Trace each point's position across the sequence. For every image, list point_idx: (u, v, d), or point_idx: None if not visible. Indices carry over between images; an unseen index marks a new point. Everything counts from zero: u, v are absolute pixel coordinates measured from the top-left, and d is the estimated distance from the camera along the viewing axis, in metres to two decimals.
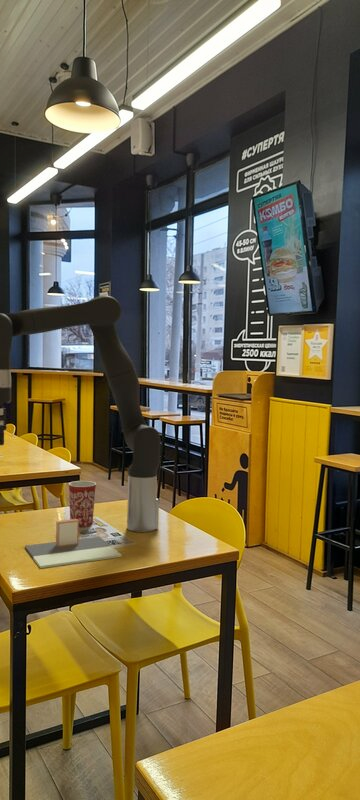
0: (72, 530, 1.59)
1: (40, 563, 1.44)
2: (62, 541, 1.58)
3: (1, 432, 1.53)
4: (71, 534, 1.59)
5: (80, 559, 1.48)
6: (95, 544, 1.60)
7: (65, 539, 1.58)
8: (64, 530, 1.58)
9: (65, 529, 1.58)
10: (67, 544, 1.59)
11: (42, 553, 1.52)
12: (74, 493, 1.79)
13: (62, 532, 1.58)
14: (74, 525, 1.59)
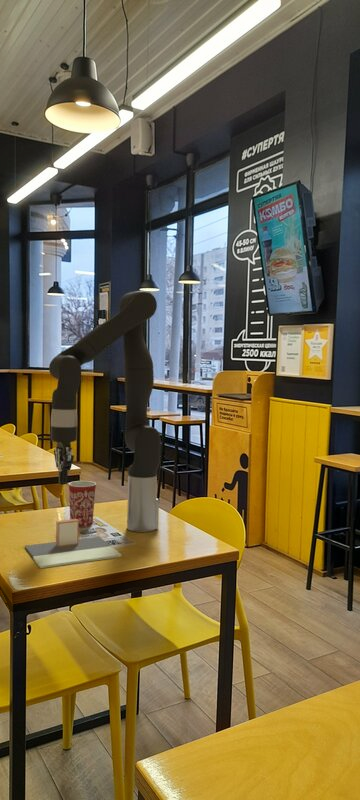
0: (72, 530, 1.59)
1: (40, 563, 1.44)
2: (62, 541, 1.58)
3: (65, 472, 1.62)
4: (71, 534, 1.59)
5: (80, 559, 1.48)
6: (95, 544, 1.60)
7: (65, 539, 1.58)
8: (64, 530, 1.58)
9: (65, 529, 1.58)
10: (67, 544, 1.59)
11: (42, 553, 1.52)
12: (74, 493, 1.79)
13: (62, 532, 1.58)
14: (74, 525, 1.59)
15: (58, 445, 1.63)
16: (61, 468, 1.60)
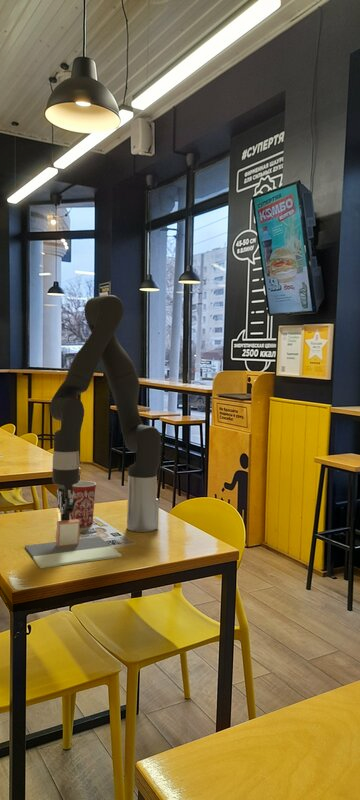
0: (73, 531, 1.59)
1: (40, 563, 1.44)
2: (62, 541, 1.58)
3: (67, 514, 1.59)
4: (71, 535, 1.59)
5: (80, 559, 1.48)
6: (95, 544, 1.60)
7: (65, 539, 1.58)
8: (65, 531, 1.57)
9: (66, 530, 1.57)
10: (67, 544, 1.59)
11: (42, 553, 1.52)
12: (74, 493, 1.79)
13: (63, 533, 1.57)
14: (75, 526, 1.58)
15: (60, 487, 1.61)
16: (63, 511, 1.57)
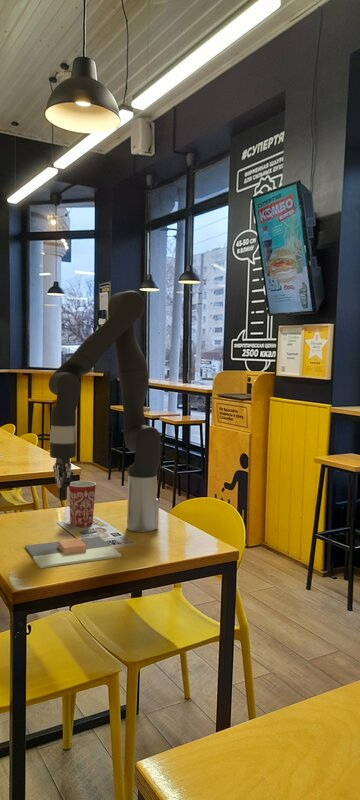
0: None
1: (40, 563, 1.44)
2: None
3: (65, 488, 1.62)
4: None
5: (80, 559, 1.48)
6: (95, 544, 1.60)
7: None
8: None
9: None
10: None
11: (42, 553, 1.52)
12: (74, 493, 1.79)
13: None
14: None
15: (57, 461, 1.64)
16: (60, 484, 1.60)
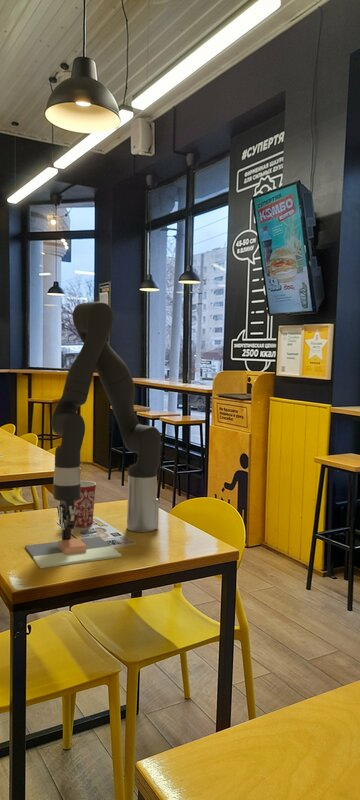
0: None
1: (40, 563, 1.44)
2: None
3: (68, 530, 1.58)
4: None
5: (80, 559, 1.48)
6: (95, 544, 1.60)
7: None
8: None
9: None
10: None
11: (42, 553, 1.52)
12: None
13: None
14: None
15: (61, 502, 1.60)
16: (64, 527, 1.56)
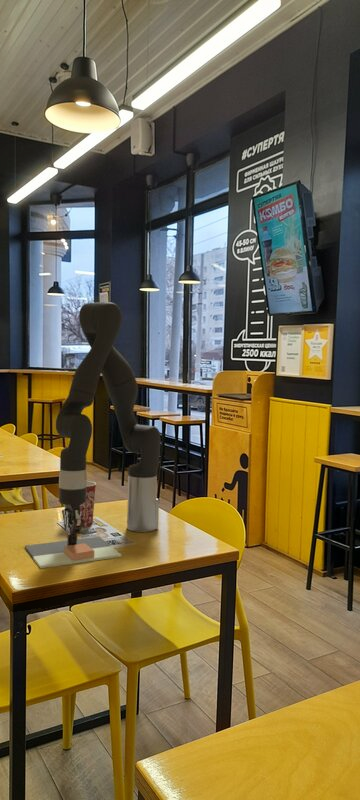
0: None
1: (40, 563, 1.44)
2: None
3: (74, 535, 1.54)
4: None
5: (80, 559, 1.48)
6: (95, 544, 1.60)
7: None
8: None
9: None
10: None
11: (42, 553, 1.52)
12: None
13: None
14: None
15: (67, 506, 1.55)
16: (70, 532, 1.52)
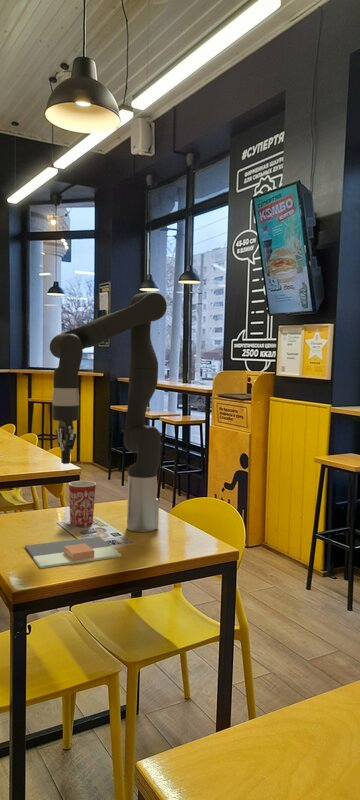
0: None
1: (40, 563, 1.44)
2: None
3: (68, 451, 1.61)
4: None
5: (80, 559, 1.48)
6: (95, 544, 1.60)
7: None
8: None
9: None
10: None
11: (42, 553, 1.52)
12: (74, 493, 1.79)
13: None
14: None
15: (60, 424, 1.63)
16: (64, 447, 1.59)
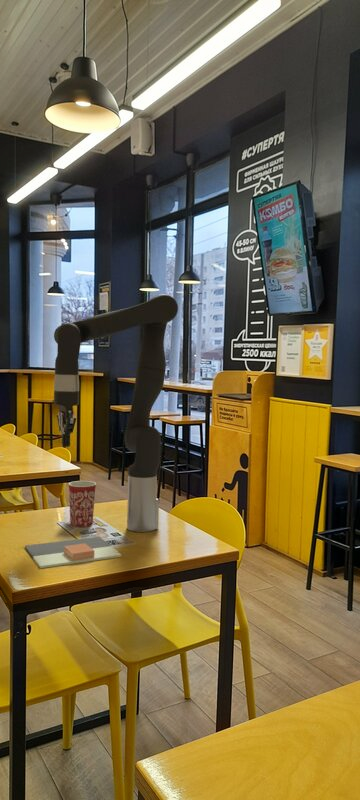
0: None
1: (40, 563, 1.44)
2: None
3: (68, 435, 1.70)
4: None
5: (80, 559, 1.48)
6: (95, 544, 1.60)
7: None
8: None
9: None
10: None
11: (42, 553, 1.52)
12: (74, 493, 1.79)
13: None
14: None
15: (61, 409, 1.71)
16: (64, 430, 1.68)
